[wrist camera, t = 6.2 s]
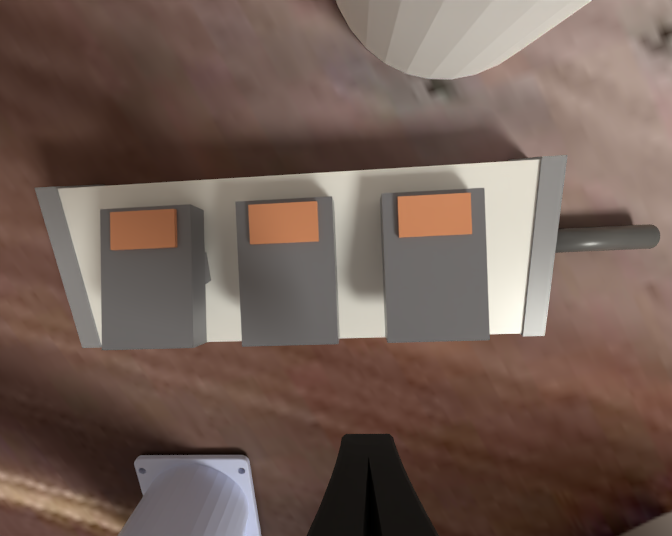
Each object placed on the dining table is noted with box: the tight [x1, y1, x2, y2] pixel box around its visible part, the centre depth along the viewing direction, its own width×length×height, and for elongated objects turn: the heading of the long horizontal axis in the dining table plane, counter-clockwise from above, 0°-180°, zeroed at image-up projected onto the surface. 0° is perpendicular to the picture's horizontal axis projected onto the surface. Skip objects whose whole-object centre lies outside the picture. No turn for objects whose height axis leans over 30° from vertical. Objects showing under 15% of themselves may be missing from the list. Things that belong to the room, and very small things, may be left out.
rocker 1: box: [100, 204, 207, 350], centre depth 14 cm, size 6×4×1 cm, turn 4°
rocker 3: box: [380, 188, 490, 343], centre depth 14 cm, size 6×4×1 cm, turn 3°
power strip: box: [35, 155, 660, 348], centre depth 17 cm, size 8×29×4 cm, turn 93°
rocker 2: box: [235, 196, 340, 346], centre depth 14 cm, size 6×4×1 cm, turn 3°
